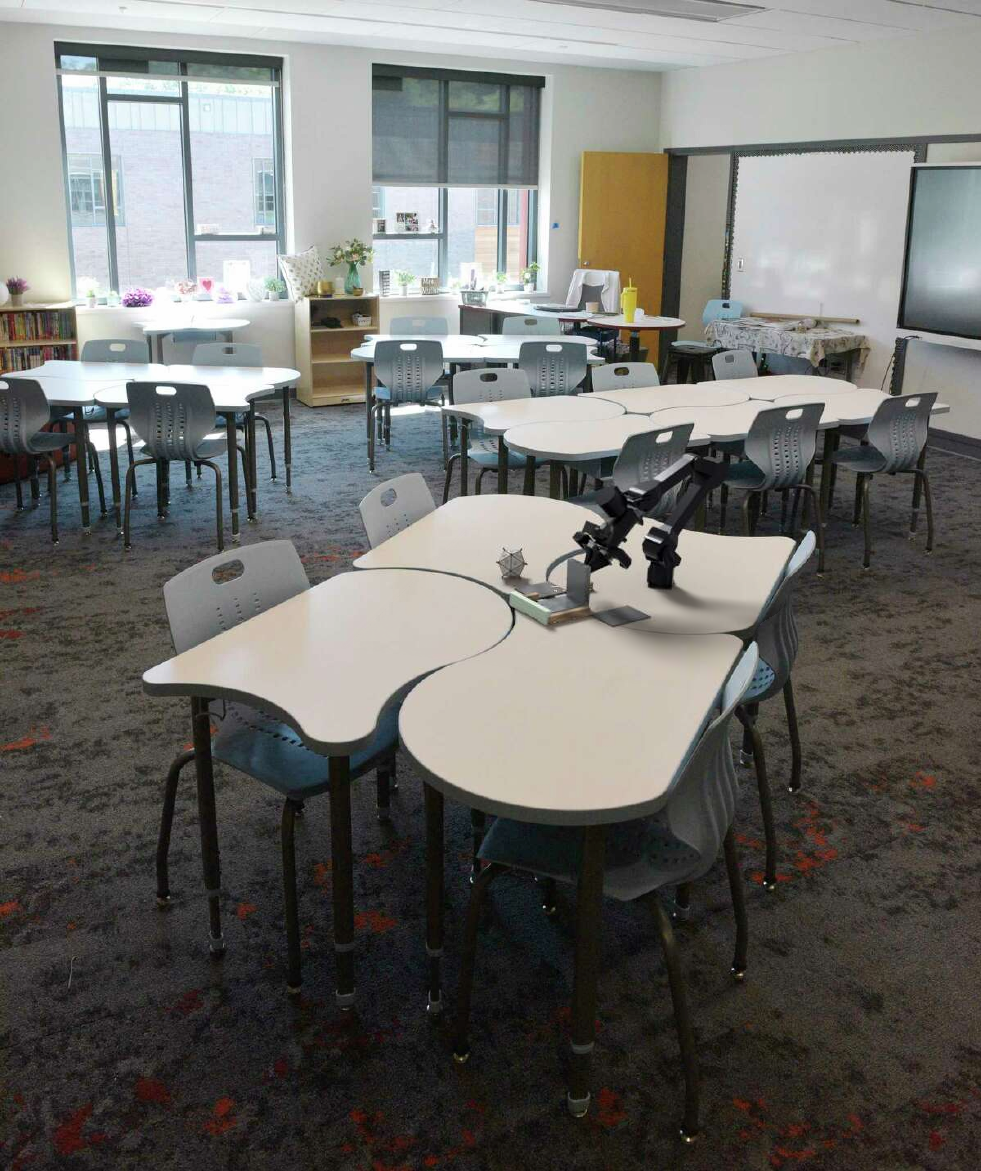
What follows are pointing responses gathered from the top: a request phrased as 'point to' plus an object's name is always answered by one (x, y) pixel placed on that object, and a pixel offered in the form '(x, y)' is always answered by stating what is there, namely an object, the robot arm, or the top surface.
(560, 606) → the bookend
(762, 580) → the top surface
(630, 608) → the trap lane
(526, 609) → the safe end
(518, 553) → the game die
